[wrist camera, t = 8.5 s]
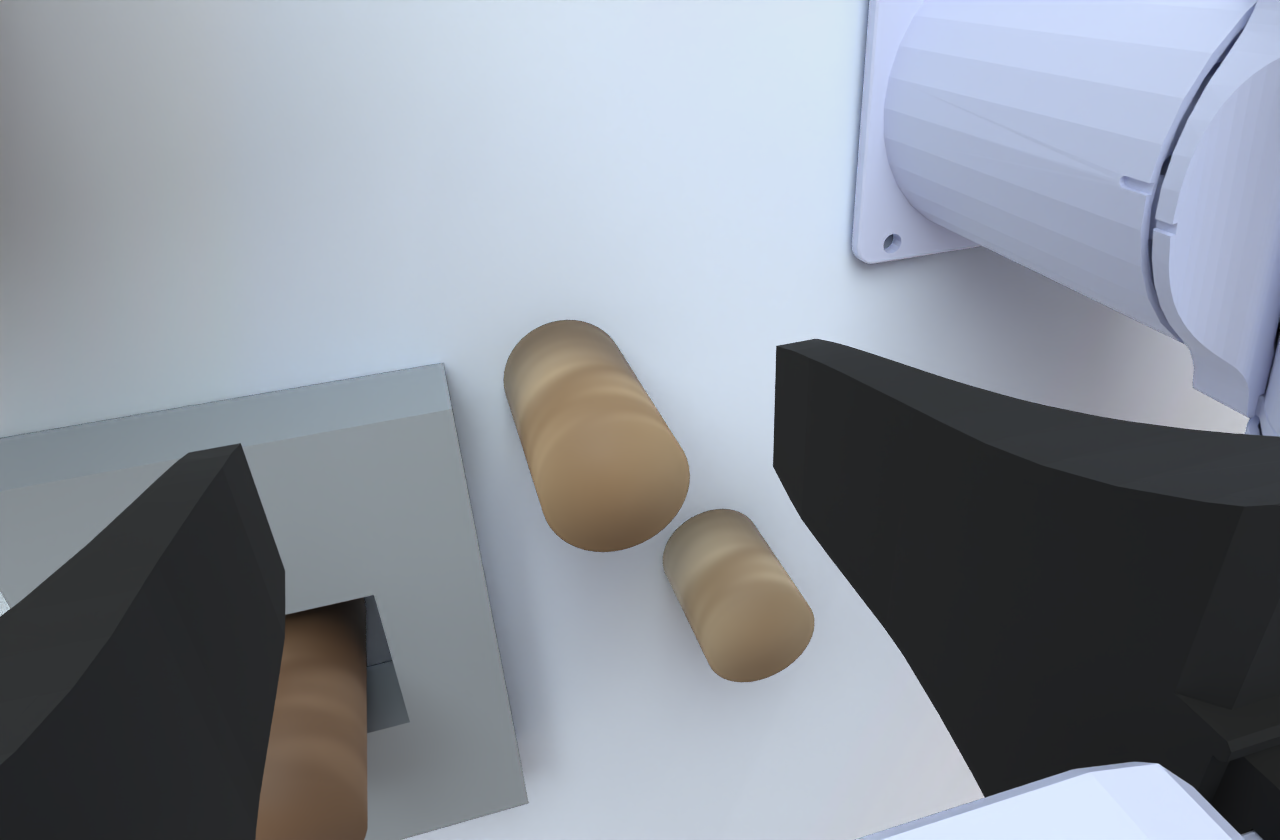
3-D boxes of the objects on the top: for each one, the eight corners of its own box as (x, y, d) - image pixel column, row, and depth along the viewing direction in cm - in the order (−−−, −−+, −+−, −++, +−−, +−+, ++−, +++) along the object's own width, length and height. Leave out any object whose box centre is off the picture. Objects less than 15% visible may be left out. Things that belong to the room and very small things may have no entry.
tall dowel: (353, 557, 23) (351, 765, 17) (375, 643, 25) (380, 861, 19) (228, 581, 22) (180, 807, 16) (259, 669, 24) (226, 903, 18)
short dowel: (759, 499, 26) (817, 581, 23) (757, 578, 28) (811, 666, 24) (660, 521, 25) (705, 608, 22) (664, 601, 27) (707, 693, 24)
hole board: (443, 362, 21) (452, 408, 19) (516, 739, 28) (528, 803, 26) (-6, 439, 19) (-52, 500, 17) (194, 825, 26) (180, 902, 24)
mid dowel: (619, 311, 22) (687, 409, 17) (626, 418, 23) (691, 534, 19) (495, 331, 21) (532, 438, 16) (512, 440, 23) (549, 566, 18)
